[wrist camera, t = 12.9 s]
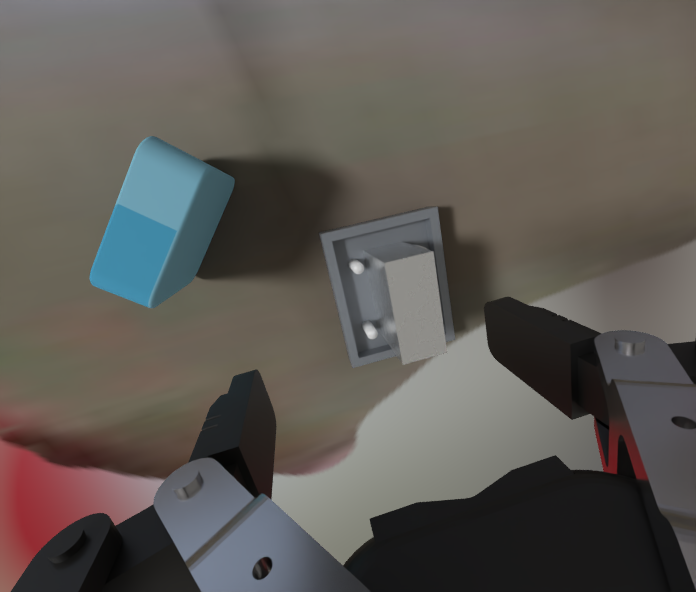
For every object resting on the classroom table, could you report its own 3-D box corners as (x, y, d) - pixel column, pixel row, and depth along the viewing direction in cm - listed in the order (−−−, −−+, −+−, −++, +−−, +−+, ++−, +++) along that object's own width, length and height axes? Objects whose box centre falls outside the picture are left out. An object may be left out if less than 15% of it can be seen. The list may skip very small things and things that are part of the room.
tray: (318, 232, 37) (321, 235, 33) (427, 206, 38) (443, 206, 34) (348, 358, 41) (354, 374, 37) (445, 331, 42) (461, 344, 38)
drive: (363, 250, 37) (384, 263, 28) (401, 241, 37) (433, 251, 29) (379, 331, 40) (402, 364, 31) (414, 321, 40) (447, 352, 31)
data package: (194, 157, 33) (141, 129, 21) (237, 179, 34) (209, 164, 23) (151, 263, 35) (82, 289, 23) (193, 281, 36) (147, 314, 25)
